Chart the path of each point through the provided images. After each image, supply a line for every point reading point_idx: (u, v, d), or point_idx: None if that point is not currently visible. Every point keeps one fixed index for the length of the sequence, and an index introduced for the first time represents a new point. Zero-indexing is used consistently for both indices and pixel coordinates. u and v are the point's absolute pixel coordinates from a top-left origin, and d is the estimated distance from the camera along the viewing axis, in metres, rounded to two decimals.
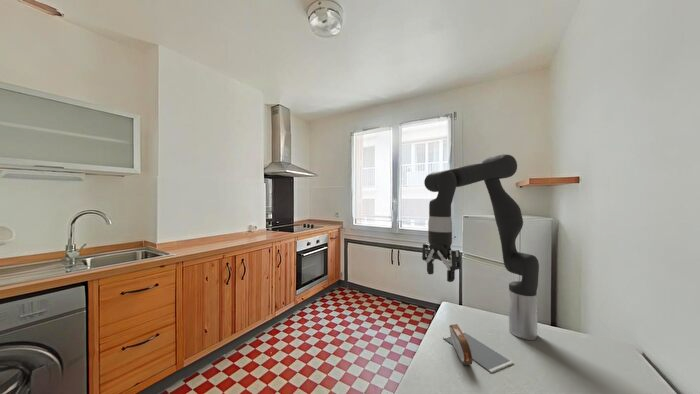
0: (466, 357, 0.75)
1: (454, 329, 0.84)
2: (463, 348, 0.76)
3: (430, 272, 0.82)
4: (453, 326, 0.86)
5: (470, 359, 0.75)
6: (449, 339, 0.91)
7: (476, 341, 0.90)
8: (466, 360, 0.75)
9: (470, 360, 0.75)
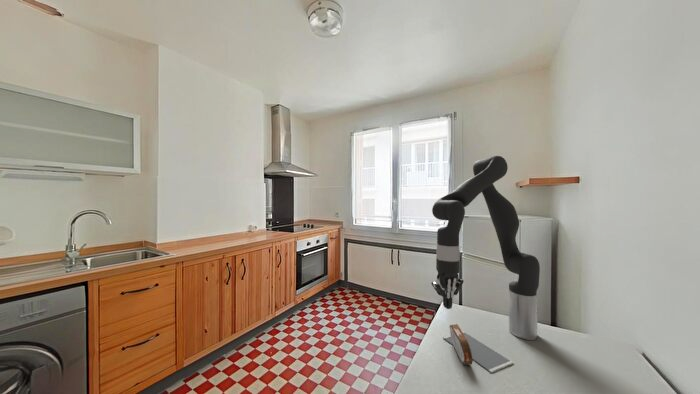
0: (466, 357, 0.75)
1: (454, 329, 0.84)
2: (463, 348, 0.76)
3: None
4: (453, 326, 0.86)
5: (470, 359, 0.75)
6: (449, 339, 0.91)
7: (476, 341, 0.90)
8: (466, 360, 0.75)
9: (470, 360, 0.75)
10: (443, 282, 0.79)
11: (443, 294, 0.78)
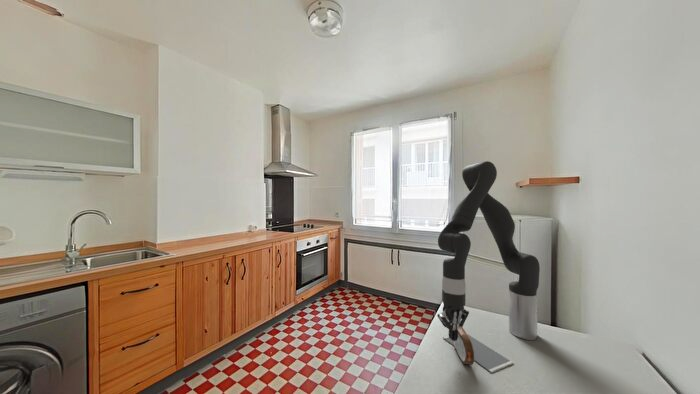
0: (468, 357, 0.75)
1: None
2: (466, 347, 0.76)
3: None
4: None
5: (472, 359, 0.75)
6: (449, 339, 0.91)
7: (476, 341, 0.90)
8: (468, 360, 0.75)
9: (471, 360, 0.75)
10: (449, 315, 0.79)
11: (449, 327, 0.79)
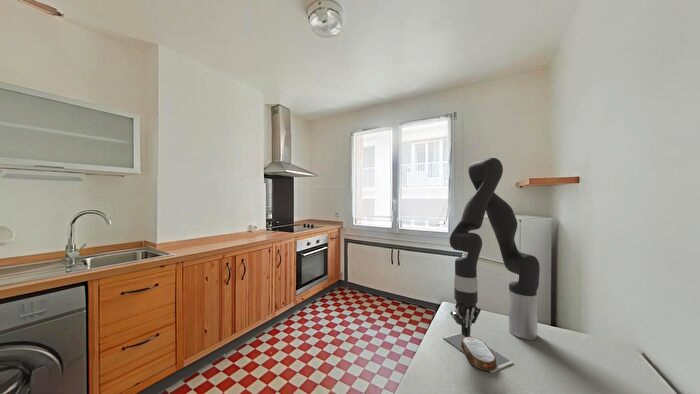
0: (488, 365, 0.75)
1: None
2: (494, 362, 0.75)
3: None
4: None
5: (485, 368, 0.75)
6: (449, 339, 0.91)
7: None
8: (484, 364, 0.75)
9: (484, 368, 0.75)
10: (462, 312, 0.82)
11: (462, 323, 0.81)
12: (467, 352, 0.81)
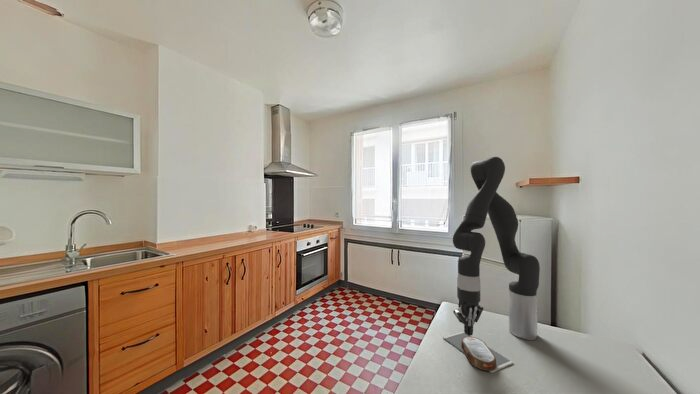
0: (488, 365, 0.75)
1: None
2: (494, 362, 0.75)
3: None
4: None
5: (485, 368, 0.75)
6: (449, 339, 0.91)
7: None
8: (484, 364, 0.75)
9: (484, 368, 0.75)
10: (465, 310, 0.82)
11: (465, 322, 0.82)
12: (467, 352, 0.81)
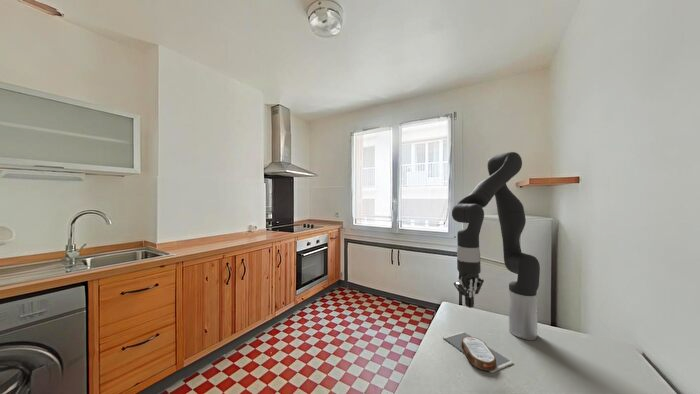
0: (488, 365, 0.75)
1: None
2: (494, 362, 0.75)
3: None
4: None
5: (485, 368, 0.75)
6: (449, 339, 0.91)
7: None
8: (484, 364, 0.75)
9: (484, 368, 0.75)
10: (465, 282, 0.82)
11: (465, 294, 0.82)
12: (467, 352, 0.81)
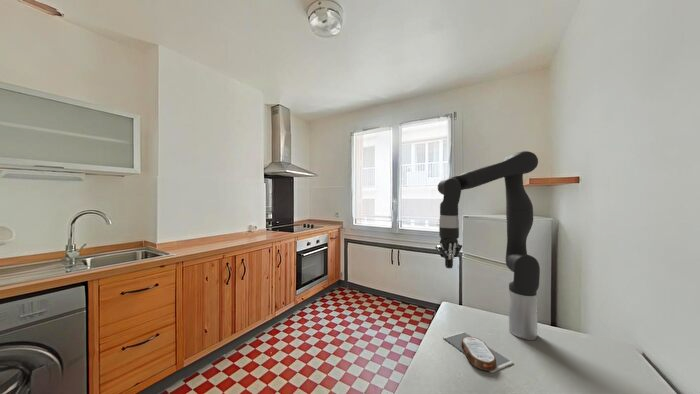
0: (488, 365, 0.75)
1: None
2: (494, 362, 0.75)
3: None
4: None
5: (485, 368, 0.75)
6: (449, 339, 0.91)
7: None
8: (484, 364, 0.75)
9: (484, 368, 0.75)
10: (445, 246, 0.95)
11: (445, 255, 0.94)
12: (467, 352, 0.81)
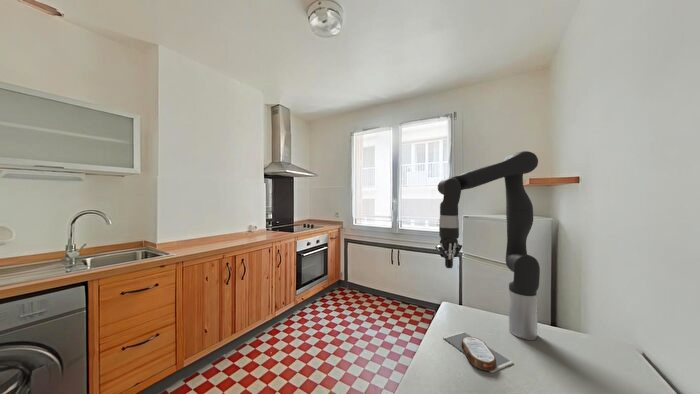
0: (488, 365, 0.75)
1: None
2: (494, 362, 0.75)
3: None
4: None
5: (485, 368, 0.75)
6: (449, 339, 0.91)
7: None
8: (484, 364, 0.75)
9: (484, 368, 0.75)
10: (445, 246, 0.95)
11: (445, 255, 0.94)
12: (467, 352, 0.81)
